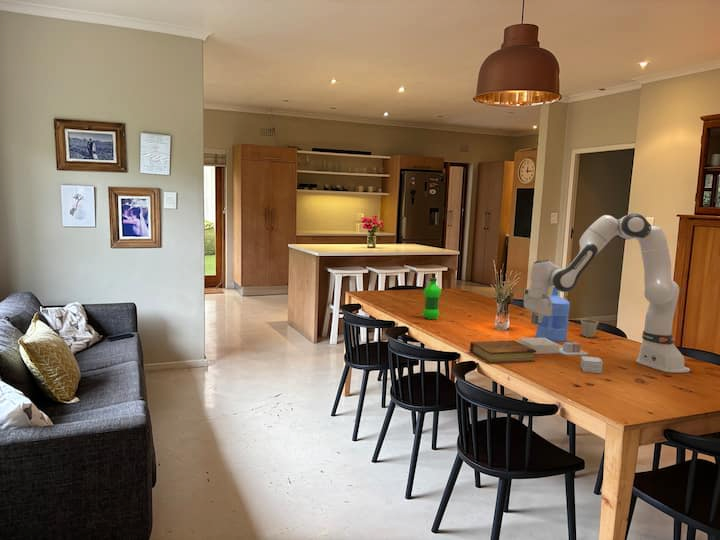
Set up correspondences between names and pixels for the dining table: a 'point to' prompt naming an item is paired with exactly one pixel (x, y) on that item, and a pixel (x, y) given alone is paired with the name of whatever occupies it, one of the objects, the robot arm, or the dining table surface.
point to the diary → (502, 351)
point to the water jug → (555, 320)
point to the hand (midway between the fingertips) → (536, 321)
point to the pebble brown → (576, 347)
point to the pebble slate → (568, 347)
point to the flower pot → (588, 327)
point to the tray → (571, 352)
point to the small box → (591, 364)
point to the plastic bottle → (431, 299)
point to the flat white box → (540, 345)
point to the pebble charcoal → (534, 319)
